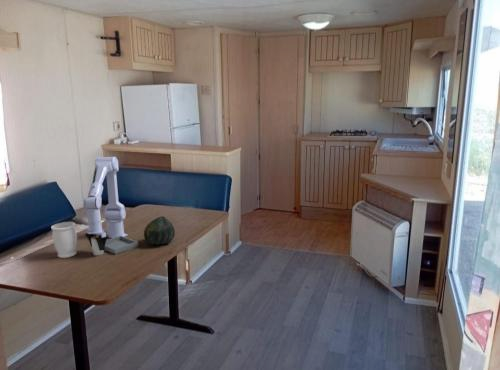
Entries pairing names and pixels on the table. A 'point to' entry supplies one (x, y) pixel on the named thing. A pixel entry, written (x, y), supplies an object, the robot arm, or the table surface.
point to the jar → (64, 239)
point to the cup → (96, 247)
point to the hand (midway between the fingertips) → (97, 248)
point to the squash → (159, 231)
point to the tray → (119, 244)
